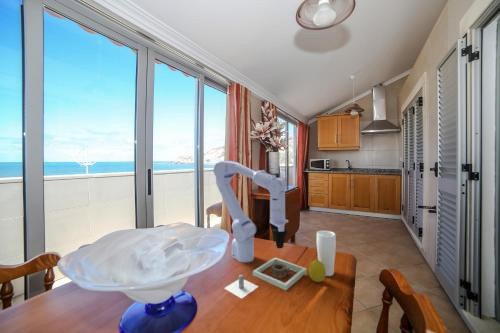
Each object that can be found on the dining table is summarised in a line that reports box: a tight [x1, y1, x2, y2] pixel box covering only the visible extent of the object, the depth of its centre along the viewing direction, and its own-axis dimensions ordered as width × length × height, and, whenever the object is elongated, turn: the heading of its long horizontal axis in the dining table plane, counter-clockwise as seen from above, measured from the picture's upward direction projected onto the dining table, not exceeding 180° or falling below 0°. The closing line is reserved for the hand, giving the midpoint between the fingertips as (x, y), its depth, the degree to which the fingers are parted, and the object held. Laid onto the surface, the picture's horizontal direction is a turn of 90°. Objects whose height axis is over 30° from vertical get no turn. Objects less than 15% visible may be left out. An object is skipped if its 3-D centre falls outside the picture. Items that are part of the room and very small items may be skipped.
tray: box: [252, 257, 307, 291], centre depth 76 cm, size 14×14×2 cm
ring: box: [270, 263, 291, 279], centre depth 76 cm, size 7×5×3 cm
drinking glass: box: [315, 230, 337, 277], centre depth 78 cm, size 7×7×15 cm
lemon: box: [308, 259, 326, 283], centre depth 72 cm, size 6×6×8 cm
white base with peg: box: [223, 274, 259, 299], centre depth 68 cm, size 8×8×5 cm
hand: (278, 243), depth 82 cm, fingers open, 7 cm apart
